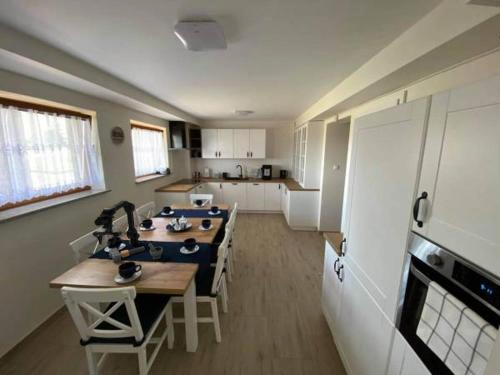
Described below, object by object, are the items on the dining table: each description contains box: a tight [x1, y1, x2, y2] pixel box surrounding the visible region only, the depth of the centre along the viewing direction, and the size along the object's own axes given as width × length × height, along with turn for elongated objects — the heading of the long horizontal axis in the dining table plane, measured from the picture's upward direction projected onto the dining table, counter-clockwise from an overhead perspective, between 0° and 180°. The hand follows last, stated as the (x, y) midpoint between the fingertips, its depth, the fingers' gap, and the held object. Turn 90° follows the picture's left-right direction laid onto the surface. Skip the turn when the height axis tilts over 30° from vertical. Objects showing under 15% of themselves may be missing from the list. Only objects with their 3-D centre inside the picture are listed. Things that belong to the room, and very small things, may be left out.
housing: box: [108, 247, 122, 264], centre depth 169 cm, size 5×16×6 cm, turn 43°
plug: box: [120, 245, 146, 259], centre depth 178 cm, size 19×4×4 cm, turn 134°
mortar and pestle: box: [148, 242, 164, 260], centre depth 171 cm, size 11×9×12 cm
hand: (106, 244), depth 160 cm, fingers open, 9 cm apart
